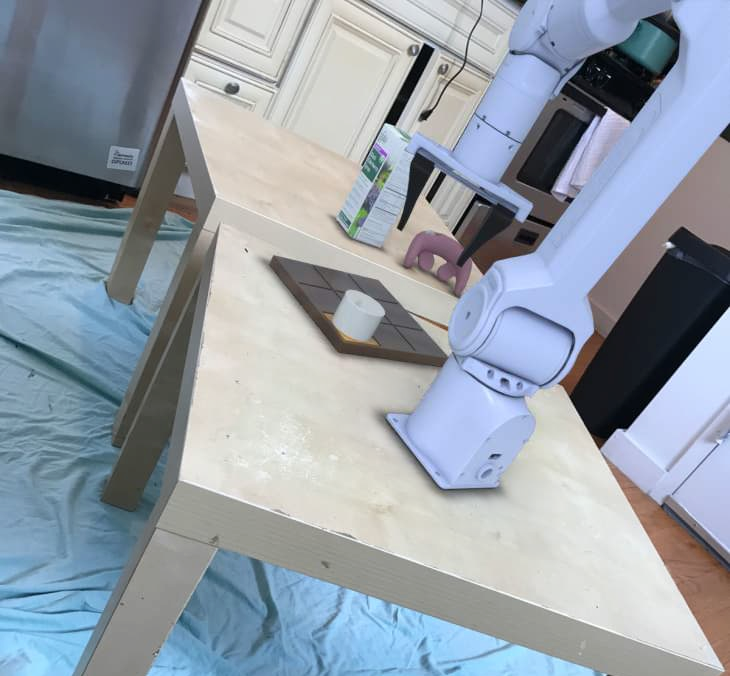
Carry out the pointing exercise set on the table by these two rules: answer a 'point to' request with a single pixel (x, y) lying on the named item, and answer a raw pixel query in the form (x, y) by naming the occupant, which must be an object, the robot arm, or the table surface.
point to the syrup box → (378, 189)
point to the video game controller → (444, 248)
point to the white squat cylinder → (358, 316)
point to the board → (328, 286)
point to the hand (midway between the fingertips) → (429, 246)
